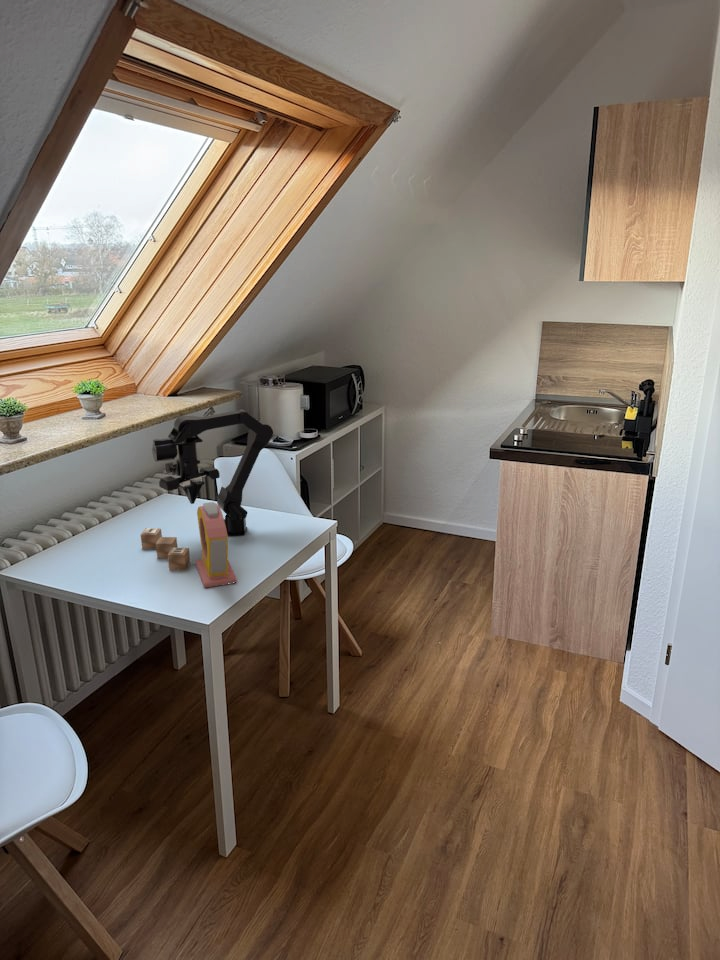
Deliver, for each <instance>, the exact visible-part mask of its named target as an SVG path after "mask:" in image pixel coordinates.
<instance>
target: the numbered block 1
mask: <svg viewBox="0 0 720 960" xmlns="http://www.w3.org/2000/svg"><path fill="white" fill-rule="evenodd" d="M160 537H163V535H162V528H161V527H160V528H159V527H158V528H156V527H153V528H152V527H151V528H149V527H146V528H144V530H143V531H142V532H141V533H140V539H141V540H140V541H141V549H142V550H148V549H151V550H153V549H154V550H156V543H157V541H158V540H159V539H160Z"/></svg>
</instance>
